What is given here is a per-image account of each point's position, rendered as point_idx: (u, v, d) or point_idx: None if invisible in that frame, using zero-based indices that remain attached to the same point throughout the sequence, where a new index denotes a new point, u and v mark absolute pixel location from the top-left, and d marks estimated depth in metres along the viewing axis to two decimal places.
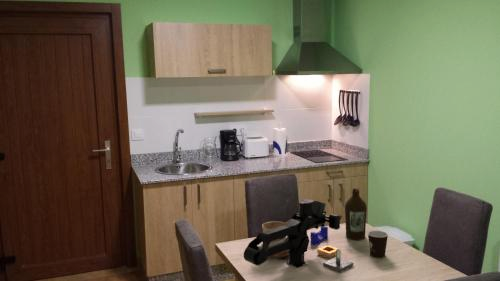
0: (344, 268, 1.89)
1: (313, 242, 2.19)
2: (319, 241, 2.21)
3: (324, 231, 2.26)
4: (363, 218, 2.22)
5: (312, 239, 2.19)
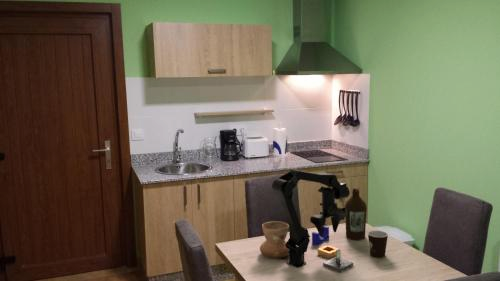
0: (344, 268, 1.89)
1: (315, 242, 2.18)
2: (320, 241, 2.20)
3: (325, 231, 2.25)
4: (363, 218, 2.22)
5: (313, 239, 2.18)
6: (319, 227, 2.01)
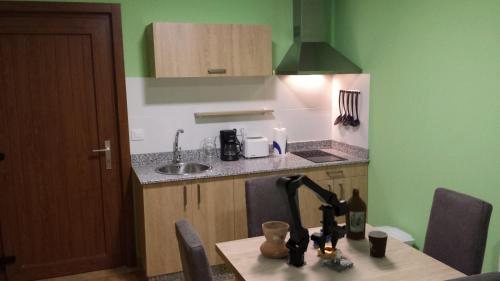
0: (344, 268, 1.89)
1: None
2: None
3: None
4: (363, 218, 2.22)
5: None
6: (321, 244, 2.03)
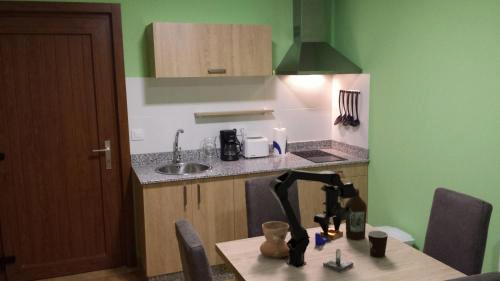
0: (344, 268, 1.89)
1: (318, 243, 2.17)
2: (323, 242, 2.19)
3: None
4: (363, 218, 2.22)
5: (317, 240, 2.17)
6: (324, 226, 1.97)
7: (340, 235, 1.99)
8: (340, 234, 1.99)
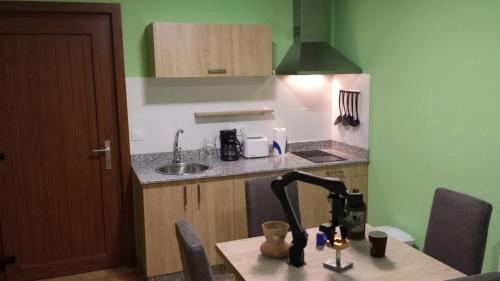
0: (344, 268, 1.89)
1: (319, 243, 2.17)
2: (324, 242, 2.19)
3: None
4: (363, 218, 2.22)
5: (318, 240, 2.17)
6: (330, 236, 1.89)
7: (347, 245, 1.91)
8: (347, 244, 1.91)
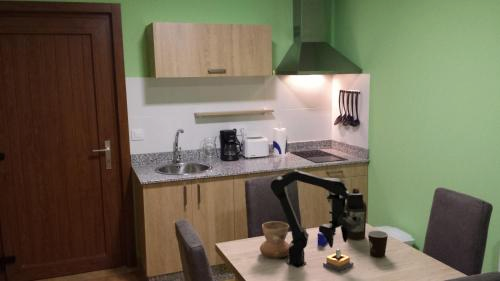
0: (344, 268, 1.89)
1: (320, 243, 2.17)
2: (326, 242, 2.19)
3: None
4: (363, 218, 2.22)
5: (319, 240, 2.17)
6: (328, 237, 1.88)
7: (347, 261, 1.92)
8: (347, 260, 1.92)
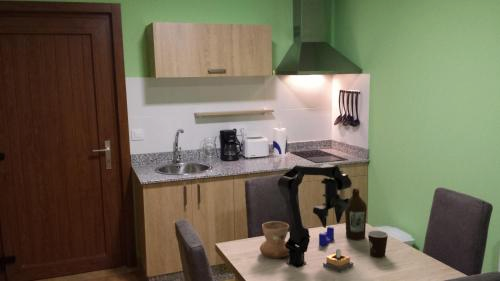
0: (344, 268, 1.89)
1: (322, 243, 2.16)
2: (327, 242, 2.19)
3: (330, 232, 2.24)
4: (363, 218, 2.22)
5: (321, 240, 2.17)
6: (322, 218, 2.03)
7: (347, 261, 1.92)
8: (347, 260, 1.92)
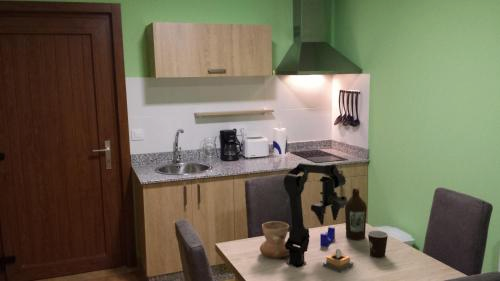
0: (344, 268, 1.89)
1: (323, 243, 2.16)
2: (328, 242, 2.18)
3: (332, 232, 2.24)
4: (363, 218, 2.22)
5: (322, 241, 2.16)
6: (319, 215, 2.08)
7: (347, 261, 1.92)
8: (347, 260, 1.92)
